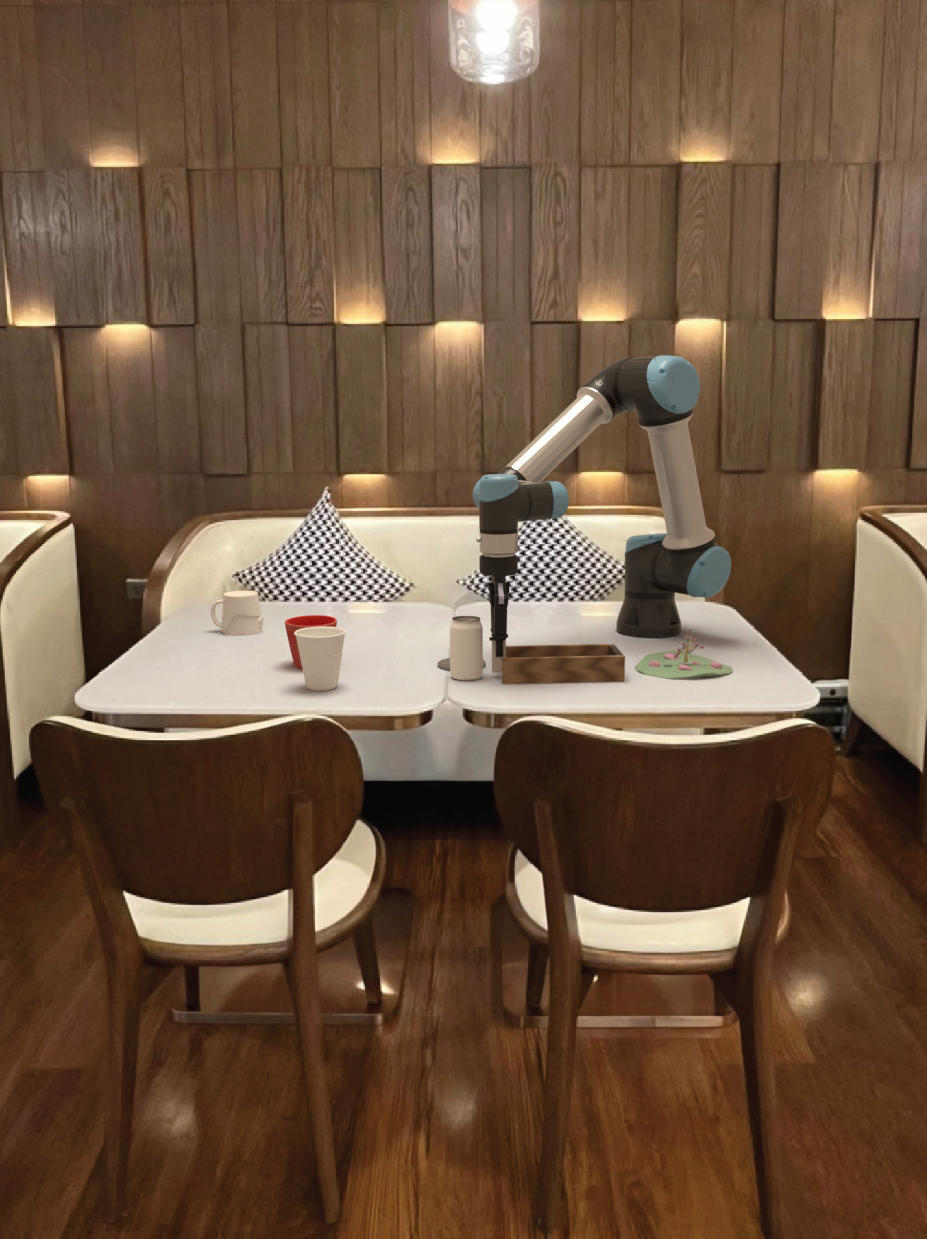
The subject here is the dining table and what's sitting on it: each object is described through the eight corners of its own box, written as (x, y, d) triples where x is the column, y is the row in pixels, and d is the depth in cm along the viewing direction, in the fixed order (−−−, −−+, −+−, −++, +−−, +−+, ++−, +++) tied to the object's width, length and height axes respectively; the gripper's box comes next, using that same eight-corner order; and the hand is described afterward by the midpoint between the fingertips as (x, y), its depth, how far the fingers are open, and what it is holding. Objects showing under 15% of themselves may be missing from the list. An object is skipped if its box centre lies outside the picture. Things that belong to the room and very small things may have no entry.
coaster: (483, 659, 244) (483, 656, 244) (487, 670, 234) (487, 668, 234) (436, 660, 243) (436, 657, 243) (438, 671, 234) (438, 669, 233)
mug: (264, 590, 275) (256, 596, 267) (266, 628, 276) (258, 636, 269) (215, 590, 275) (205, 596, 267) (216, 628, 277) (207, 635, 269)
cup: (297, 681, 227) (295, 626, 225) (348, 680, 228) (346, 625, 225) (294, 694, 217) (292, 637, 215) (347, 693, 218) (345, 636, 216)
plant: (614, 656, 249) (614, 615, 247) (704, 651, 252) (706, 611, 250) (650, 685, 225) (652, 640, 223) (750, 680, 228) (752, 635, 226)
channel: (613, 667, 236) (613, 643, 235) (624, 681, 225) (624, 656, 224) (497, 669, 235) (497, 646, 234) (502, 684, 224) (502, 659, 223)
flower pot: (297, 674, 233) (295, 627, 231) (279, 662, 242) (277, 617, 240) (345, 668, 237) (344, 622, 236) (326, 657, 247) (325, 613, 245)
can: (476, 682, 225) (475, 622, 223) (445, 679, 228) (444, 620, 225) (487, 674, 231) (487, 616, 229) (457, 672, 233) (456, 614, 231)
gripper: (477, 549, 231) (477, 663, 235) (481, 559, 218) (482, 679, 223) (514, 549, 231) (514, 663, 236) (521, 558, 218) (521, 679, 223)
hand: (498, 671), depth 229 cm, fingers closed
